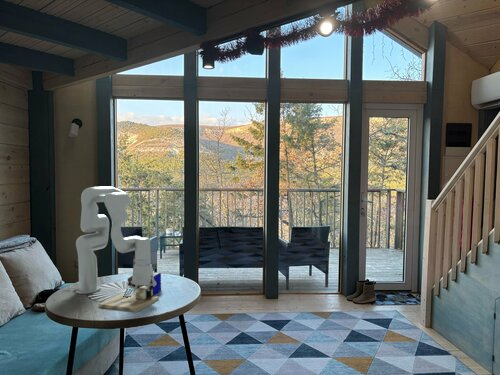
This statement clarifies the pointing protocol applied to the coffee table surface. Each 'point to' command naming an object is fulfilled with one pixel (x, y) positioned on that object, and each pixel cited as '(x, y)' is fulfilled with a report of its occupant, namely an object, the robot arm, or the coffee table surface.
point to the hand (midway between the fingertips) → (143, 297)
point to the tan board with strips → (127, 303)
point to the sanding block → (142, 293)
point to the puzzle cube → (157, 278)
